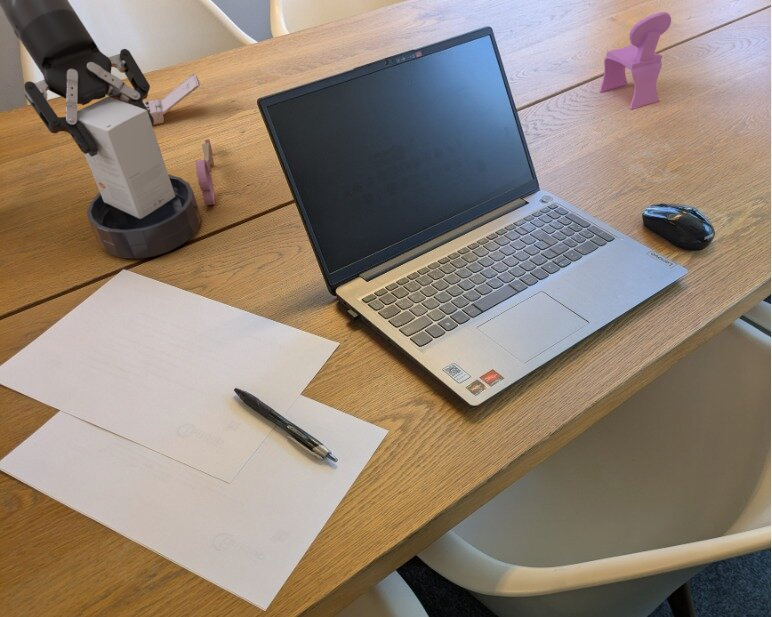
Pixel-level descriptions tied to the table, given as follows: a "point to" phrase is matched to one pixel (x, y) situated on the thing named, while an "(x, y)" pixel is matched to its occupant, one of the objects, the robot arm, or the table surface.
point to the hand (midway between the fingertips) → (123, 141)
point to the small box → (126, 157)
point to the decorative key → (206, 174)
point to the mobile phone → (171, 99)
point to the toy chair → (638, 60)
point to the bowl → (146, 225)
